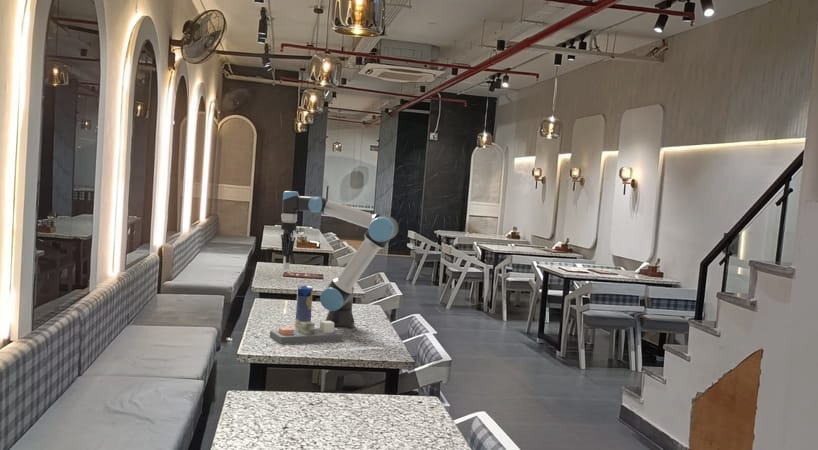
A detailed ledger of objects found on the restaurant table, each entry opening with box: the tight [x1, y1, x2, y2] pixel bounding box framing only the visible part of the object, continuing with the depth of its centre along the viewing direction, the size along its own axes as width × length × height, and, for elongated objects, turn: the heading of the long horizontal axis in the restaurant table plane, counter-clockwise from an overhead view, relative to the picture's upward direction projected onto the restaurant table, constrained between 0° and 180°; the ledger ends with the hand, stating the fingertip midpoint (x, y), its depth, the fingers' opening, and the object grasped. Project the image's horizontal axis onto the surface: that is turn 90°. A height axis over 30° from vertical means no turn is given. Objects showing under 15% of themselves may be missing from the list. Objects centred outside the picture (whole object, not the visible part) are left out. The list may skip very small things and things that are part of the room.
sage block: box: [300, 321, 315, 334], centre depth 329 cm, size 5×5×5 cm
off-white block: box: [319, 320, 335, 333], centre depth 334 cm, size 5×5×5 cm
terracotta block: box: [278, 326, 294, 335], centre depth 324 cm, size 5×5×5 cm
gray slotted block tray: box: [269, 327, 344, 345], centre depth 329 cm, size 30×14×4 cm, turn 121°
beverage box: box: [294, 285, 314, 329], centre depth 346 cm, size 7×11×22 cm, turn 10°
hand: (286, 269), depth 358 cm, fingers closed
